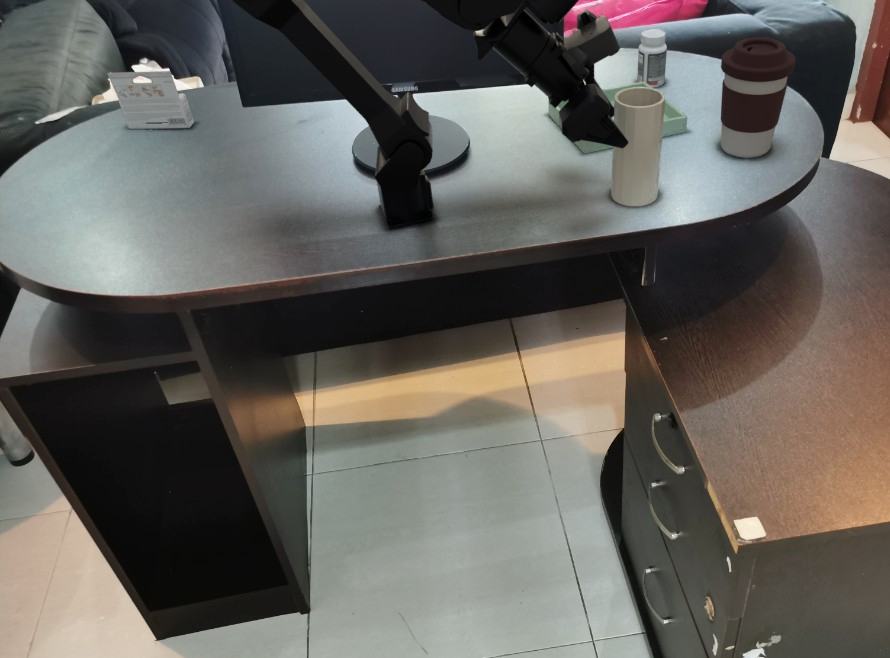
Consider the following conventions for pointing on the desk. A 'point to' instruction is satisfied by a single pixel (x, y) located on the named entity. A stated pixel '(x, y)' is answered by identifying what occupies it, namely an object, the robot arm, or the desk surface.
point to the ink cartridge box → (151, 100)
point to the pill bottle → (652, 57)
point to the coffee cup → (753, 94)
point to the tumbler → (638, 145)
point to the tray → (671, 124)
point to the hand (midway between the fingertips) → (619, 129)
